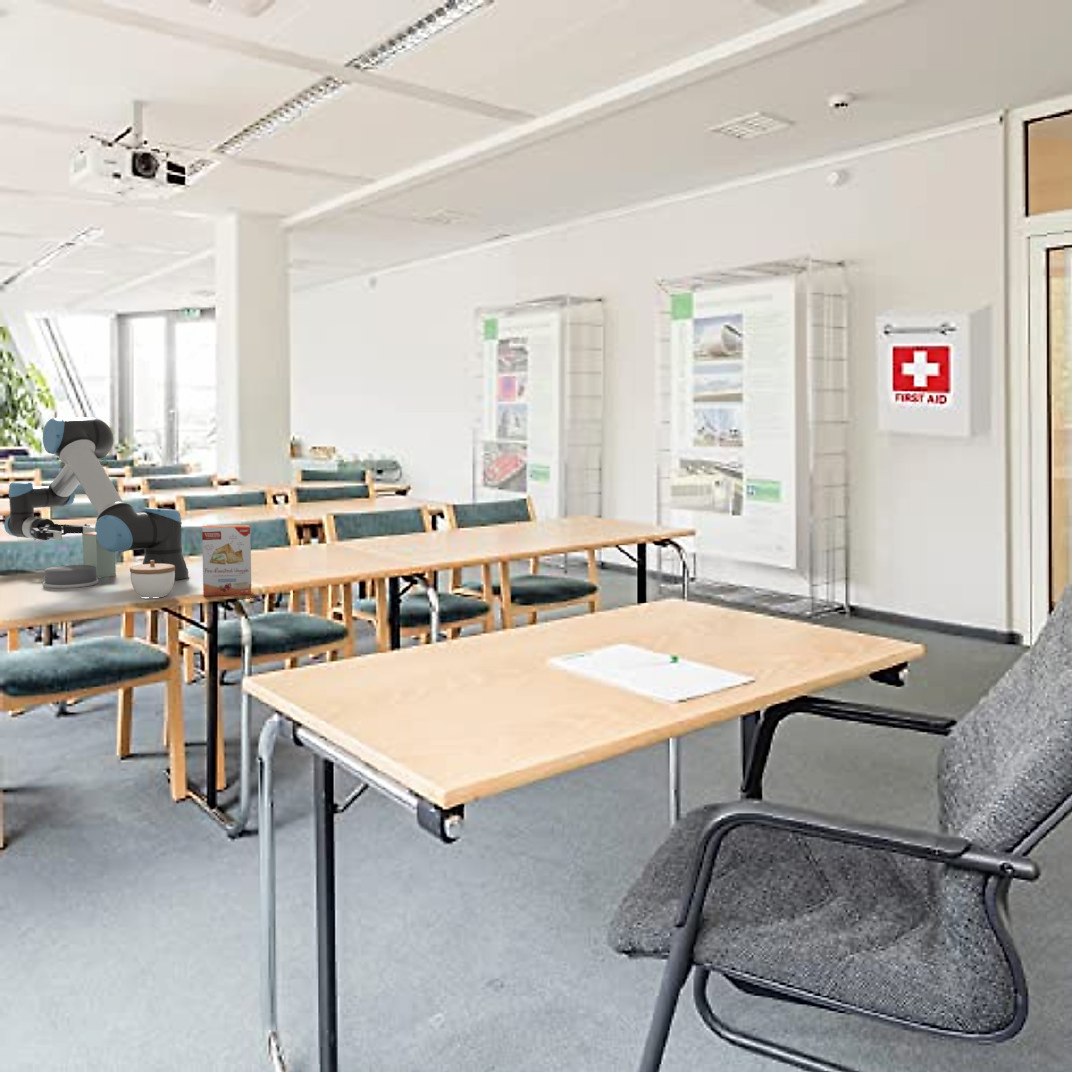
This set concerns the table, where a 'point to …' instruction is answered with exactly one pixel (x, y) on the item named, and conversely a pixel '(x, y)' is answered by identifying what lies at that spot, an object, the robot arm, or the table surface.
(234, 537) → the cracker box
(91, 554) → the carton
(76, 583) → the podium
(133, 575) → the lidded bowl
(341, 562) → the table surface
